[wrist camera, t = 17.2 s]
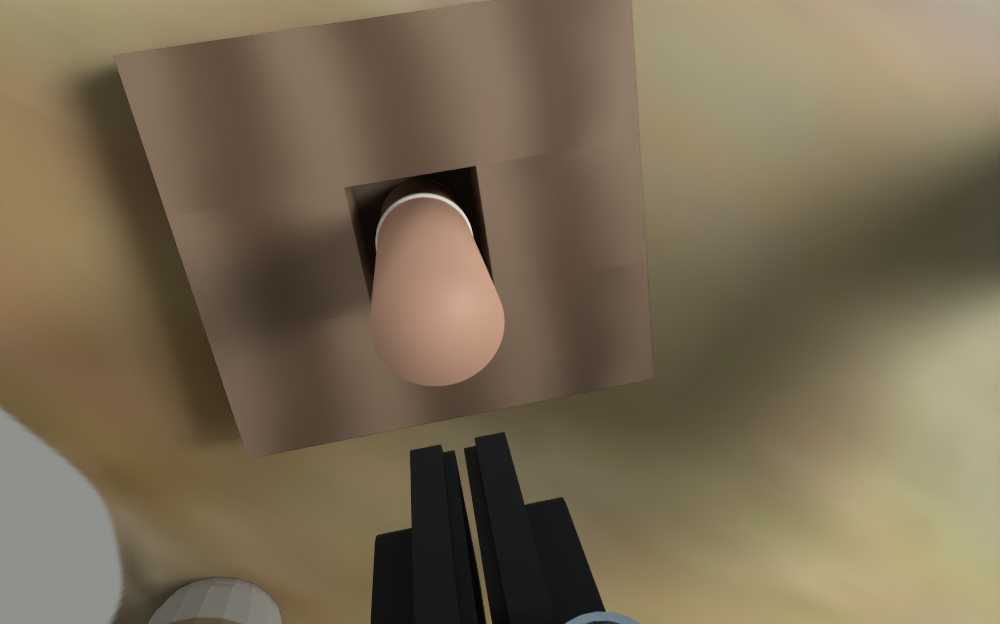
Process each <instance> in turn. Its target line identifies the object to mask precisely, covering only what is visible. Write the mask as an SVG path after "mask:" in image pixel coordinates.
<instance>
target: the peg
mask: <svg viewBox="0 0 1000 624" xmlns="http://www.w3.org/2000/svg"><path fill="white" fill-rule="evenodd" d="M375 246H376V262H375V272H374V282H373V292H372V302H371V312H370V336H371V340H372V343H373V347H374V349H375V351H376V353H377V355H378V356H379V358H380V359H381V361H382V362H383V363H384V364H385V365H386V366H387V367H388V368H389V369H390V370H391V371H392V372H393V373H395V374H396V375H398V376H399V377H401V378H403V379H405V380H407V381H410V382H413V383H415V384H420V385H425V386H445V385H451V384H455V383H459V382H461V381H464V380H466V379H468V378H470V377H472V376H474V375H475V374H476V373H478V372H479V371H481V370H482V369H483V368H484V367H485V366H486V365H487V364H488V363H489V362H490V361H491V360H492V358H493V357H494V355H495V354H496V352H497V350H498V348H499V346H500V343H501V341H502V338H503V333H504V324H505V320H504V311H503V307H502V304H501V301H500V298H499V296H498V294H497V291H496V289H495V287H494V284H493V282H492V280H491V277H490V275H489V273H488V270H487V268H486V266H485V264H484V261H483V259H482V257H481V254H480V252H479V250H478V247H477V245H476V243H475V240H474V238H473V232H472V228H471V225H470V223H469V221H468V219H467V217H466V215H465V214H464V212H463V211H462V210H461V208H460V205H459V203H458V201H457V199H456V198H455V196H454V195H453V194H452V193H451V192H450V190H448V189H447V188H446V187H445V186H443V185H441V184H440V183H437V182H435V181H432V180H427V179H414V180H409V181H406V182H404V183H402V184H400V185H398V186H397V187H395V188H394V189H393V190H392V191H391V192H390V193H389V194H388V196H387V197H386V199H385V201H384V203H383V205H382V208H381V213H380V221H379V223H378V227H377V230H376V238H375Z"/></svg>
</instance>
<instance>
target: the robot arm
mask: <svg viewBox="0 0 1000 624" xmlns="http://www.w3.org/2000/svg"><path fill="white" fill-rule="evenodd" d="M475 444H476V446H473V447H468V448H464V452H465V458H466V464H467V470H468V477H469V483H470V489H471V495H472V502H473V508H474V514H475V520H476V527H477V533H478V539H479V545H480V551H481V558H482V564H483V570H484V576H485V583H486V589H487V595H488V601H489V607H490V613H491V619H492V624H640V623H638V622H636V621H635V620H633V619H632V618H630V617H627V616H624V615H621V614H617V613H614V612H606V611H605V608H604V606H603V603H602V600H601V597H600V595H599V592H598V589H597V587H596V584H595V581H594V578H593V576H592V573H591V570H590V568H589V565H588V562H587V559H586V557H585V554H584V551H583V549H582V546H581V543H580V540H579V538H578V535H577V532H576V530H575V527H574V524H573V521H572V519H571V516H570V513H569V511H568V508H567V505H566V503H565V501H564V499H563V498H562V497H560V498H555V499H550V500H546V501H541V502H536V503H531V504H526V505H524V501H523V497H522V494H521V490H520V486H519V483H518V479H517V476H516V472H515V468H514V465H513V461H512V457H511V454H510V450H509V447H508V443H507V439H506V436H505V433H504V432H502V433H497V434H491V435H486V436H481V437H476V438H475ZM410 469H411V514H412V528H409V529H404V530H400V531H395V532H390V533H385V534H380V535H377V537H376V540H375V552H374V571H373V589H372V607H371V624H486V619H485V612H484V605H483V599H482V592H481V586H480V580H479V574H478V569H477V563H476V558H475V553H474V548H473V543H472V538H471V533H470V527H469V522H468V517H467V512H466V507H465V502H464V497H463V491H462V486H461V481H460V476H459V471H458V466H457V461H456V456H455V451H454V450H453V451H448V452H443V450H442V446H441V445H435V446H430V447H425V448H420V449H415V450H411V451H410Z"/></svg>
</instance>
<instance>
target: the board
mask: <svg viewBox="0 0 1000 624" xmlns="http://www.w3.org/2000/svg"><path fill="white" fill-rule="evenodd" d="M113 57H114V60H115V63H116V66H117V69H118V72H119V75H120V78H121V81H122V83H123V86H124V89H125V92H126V95H127V98H128V101H129V104H130V107H131V110H132V113H133V116H134V119H135V122H136V125H137V128H138V131H139V134H140V137H141V140H142V143H143V146H144V149H145V152H146V155H147V158H148V161H149V164H150V167H151V170H152V173H153V176H154V179H155V182H156V185H157V188H158V191H159V194H160V197H161V200H162V203H163V206H164V209H165V212H166V215H167V218H168V221H169V224H170V227H171V230H172V233H173V236H174V239H175V242H176V245H177V248H178V251H179V254H180V257H181V260H182V263H183V266H184V269H185V272H186V275H187V278H188V281H189V284H190V287H191V290H192V293H193V296H194V299H195V302H196V305H197V308H198V311H199V314H200V317H201V320H202V323H203V326H204V329H205V332H206V335H207V338H208V341H209V344H210V347H211V350H212V353H213V356H214V359H215V362H216V365H217V368H218V371H219V374H220V377H221V380H222V383H223V386H224V389H225V392H226V395H227V398H228V401H229V404H230V407H231V410H232V413H233V416H234V419H235V422H236V425H237V428H238V431H239V434H240V436H241V439H242V442H243V445H244V448H245V451H246V454H247V457H248V459H251V458H256V457H261V456H266V455H271V454H276V453H281V452H286V451H291V450H296V449H301V448H306V447H311V446H316V445H322V444H327V443H332V442H337V441H342V440H347V439H352V438H357V437H362V436H367V435H372V434H377V433H382V432H387V431H392V430H397V429H403V428H408V427H413V426H418V425H423V424H428V423H433V422H438V421H443V420H448V419H453V418H458V417H463V416H468V415H473V414H478V413H483V412H489V411H494V410H499V409H504V408H509V407H514V406H519V405H524V404H529V403H534V402H539V401H544V400H549V399H554V398H559V397H564V396H570V395H575V394H580V393H585V392H590V391H595V390H600V389H605V388H610V387H615V386H620V385H625V384H630V383H635V382H640V381H645V380H650V379H654V373H653V356H652V339H651V322H650V305H649V288H648V271H647V254H646V237H645V220H644V202H643V185H642V168H641V151H640V134H639V117H638V100H637V83H636V66H635V49H634V32H633V15H632V0H492V1H485V2H478V3H471V4H464V5H457V6H450V7H443V8H436V9H430V10H423V11H416V12H409V13H402V14H395V15H388V16H381V17H374V18H367V19H361V20H354V21H347V22H340V23H333V24H326V25H319V26H312V27H305V28H298V29H291V30H285V31H278V32H271V33H264V34H257V35H250V36H243V37H236V38H229V39H222V40H216V41H209V42H202V43H195V44H188V45H181V46H174V47H167V48H160V49H153V50H147V51H140V52H133V53H126V54H119V55H113ZM466 167H469V171H470V177H471V183H472V190H473V196H474V203H475V209H476V216H477V222H478V228H479V235H480V241H481V248H482V254H483V261H484V264H485V266H486V268H487V270H488V273H489V275H490V277H491V280H492V282H493V284H494V287H495V289H496V291H497V294H498V296H499V298H500V301H501V304H502V307H503V311H504V320H505V324H504V333H503V338H502V341H501V343H500V346H499V348H498V350H497V352H496V354H495V355H494V357H493V358H492V360H491V361H490V362H489V363H488V364H487V365H486V366H485V367H484V368H483V369H482V370H481V371H479V372H478V373H476V374H475V375H474V376H472V377H470V378H468V379H466V380H464V381H461V382H459V383H455V384H451V385H445V386H425V385H420V384H415V383H413V382H410V381H407V380H405V379H403V378H401V377H399V376H398V375H396V374H395V373H393V372H392V371H391V370H390V369H389V368H388V367H387V366H386V365H385V364H384V363H383V362H382V361H381V359H380V358H379V356H378V355H377V353H376V351H375V349H374V347H373V343H372V340H371V336H370V312H371V302H372V292H373V282H374V278H373V273H372V269H371V264H370V260H369V255H368V251H367V246H366V242H365V237H364V233H363V228H362V224H361V219H360V215H359V210H358V206H357V201H356V197H355V192H354V188H353V186H357V185H363V184H369V183H375V182H381V181H387V180H393V179H399V178H405V177H411V176H417V175H423V174H429V173H435V172H441V171H448V170H454V169H460V168H466Z"/></svg>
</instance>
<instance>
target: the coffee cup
mask: <svg viewBox="0 0 1000 624" xmlns="http://www.w3.org/2000/svg"><path fill="white" fill-rule="evenodd" d="M148 624H282V618H281V615H280V611H279V608H278V605H277V604H276V603H275V602H274V600H273V599H272V598H271V597H270V595H269V594H268V593H266V592H265V591H263V590H262V589H260V588H259V587H257V586H256V585H254V584H251V583H248V582H245V581H242V580H239V579H235V578H220V577H214V578H208V579H203V580H197V581H194V582H192V583H190V584H188V585H186V586H183V587H181V588H179V589H178V590H177V591H176V592H174V593H173V594H172V595H171V596H170V597H169V598H168V599H167V600H166V601H165V603H164V604H163V605H162V606H161V607H160V608H158V609H157V610H156V611H155V613H154V615H153V616H152V618H151V619H150V621H149V623H148Z"/></svg>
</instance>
